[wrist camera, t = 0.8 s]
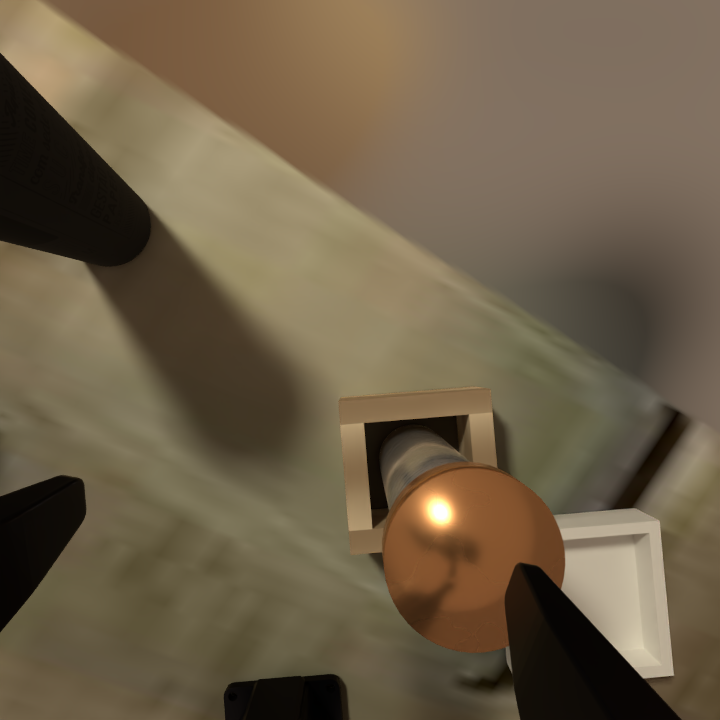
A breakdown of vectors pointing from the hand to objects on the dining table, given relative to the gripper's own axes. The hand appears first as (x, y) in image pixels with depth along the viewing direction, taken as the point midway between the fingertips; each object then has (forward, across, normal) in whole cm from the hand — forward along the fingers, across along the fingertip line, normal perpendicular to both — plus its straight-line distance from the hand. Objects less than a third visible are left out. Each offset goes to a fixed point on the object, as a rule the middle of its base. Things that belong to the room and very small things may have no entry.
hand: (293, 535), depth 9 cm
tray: (+13, -14, +12) cm, 23 cm away
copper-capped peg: (+15, -4, +7) cm, 17 cm away
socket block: (+15, -4, +7) cm, 17 cm away
